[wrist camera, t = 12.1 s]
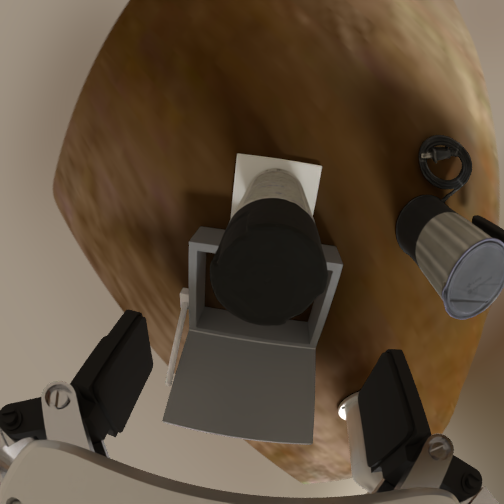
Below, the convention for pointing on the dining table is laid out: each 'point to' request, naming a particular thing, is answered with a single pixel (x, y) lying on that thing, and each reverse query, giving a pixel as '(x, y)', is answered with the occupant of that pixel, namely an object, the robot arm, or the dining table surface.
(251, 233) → the spray can
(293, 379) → the case
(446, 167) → the dining table surface
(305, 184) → the pad
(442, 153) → the milk frother
